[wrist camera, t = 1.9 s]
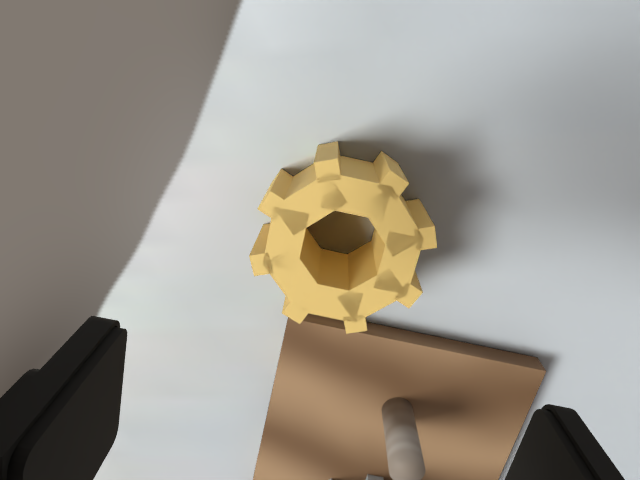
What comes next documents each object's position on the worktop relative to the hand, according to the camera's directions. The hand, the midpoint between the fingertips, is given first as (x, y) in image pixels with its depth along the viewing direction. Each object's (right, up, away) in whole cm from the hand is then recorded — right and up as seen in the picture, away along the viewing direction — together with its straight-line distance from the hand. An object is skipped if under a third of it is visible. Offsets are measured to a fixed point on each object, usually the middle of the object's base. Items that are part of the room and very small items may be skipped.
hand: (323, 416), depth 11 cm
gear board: (+3, -8, +17) cm, 19 cm away
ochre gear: (+1, +5, +12) cm, 13 cm away
